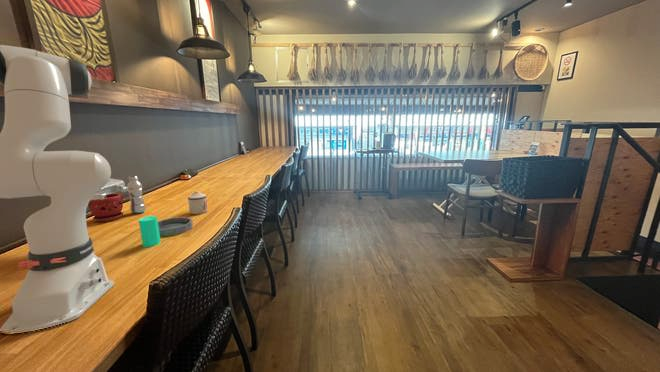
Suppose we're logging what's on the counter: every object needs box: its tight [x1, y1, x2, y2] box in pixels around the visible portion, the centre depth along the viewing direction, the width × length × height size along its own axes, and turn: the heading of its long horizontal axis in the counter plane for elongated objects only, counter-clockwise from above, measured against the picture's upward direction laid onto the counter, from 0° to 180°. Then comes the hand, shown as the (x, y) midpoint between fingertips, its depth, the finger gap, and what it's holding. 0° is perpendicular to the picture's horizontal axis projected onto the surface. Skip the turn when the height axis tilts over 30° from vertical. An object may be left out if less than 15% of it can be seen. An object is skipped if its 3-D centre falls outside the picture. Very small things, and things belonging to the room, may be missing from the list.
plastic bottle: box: [126, 175, 147, 214], centre depth 137 cm, size 6×7×20 cm
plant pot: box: [87, 193, 124, 223], centre depth 129 cm, size 13×13×12 cm
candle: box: [138, 214, 162, 248], centre depth 101 cm, size 6×6×12 cm
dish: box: [157, 216, 194, 237], centre depth 117 cm, size 15×15×3 cm
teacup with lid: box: [187, 190, 208, 215], centre depth 141 cm, size 12×9×12 cm
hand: (115, 193), depth 99 cm, fingers open, 8 cm apart
